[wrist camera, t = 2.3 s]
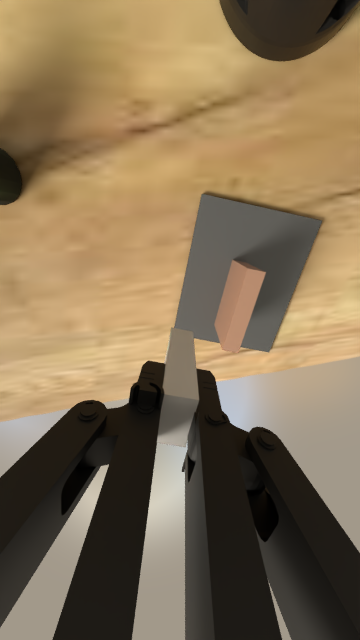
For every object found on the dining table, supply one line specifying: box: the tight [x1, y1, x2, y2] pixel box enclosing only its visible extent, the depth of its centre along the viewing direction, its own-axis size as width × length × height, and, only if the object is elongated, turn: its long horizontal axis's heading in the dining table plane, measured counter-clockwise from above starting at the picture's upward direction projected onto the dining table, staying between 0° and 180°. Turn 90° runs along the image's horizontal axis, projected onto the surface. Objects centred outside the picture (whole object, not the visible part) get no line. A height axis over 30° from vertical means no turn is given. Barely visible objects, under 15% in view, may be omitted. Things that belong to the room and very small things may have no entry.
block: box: [214, 260, 266, 353], centre depth 28 cm, size 10×2×8 cm, turn 169°
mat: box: [174, 194, 322, 352], centre depth 32 cm, size 20×16×1 cm
